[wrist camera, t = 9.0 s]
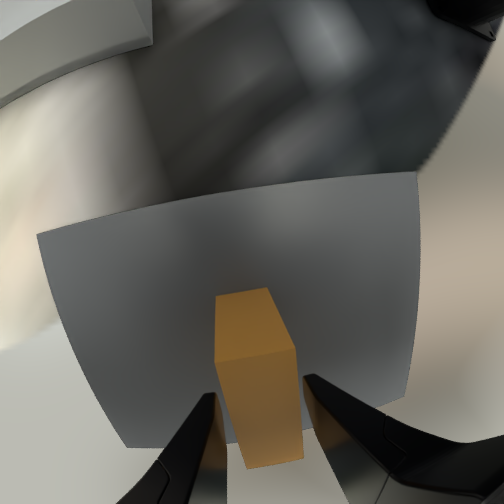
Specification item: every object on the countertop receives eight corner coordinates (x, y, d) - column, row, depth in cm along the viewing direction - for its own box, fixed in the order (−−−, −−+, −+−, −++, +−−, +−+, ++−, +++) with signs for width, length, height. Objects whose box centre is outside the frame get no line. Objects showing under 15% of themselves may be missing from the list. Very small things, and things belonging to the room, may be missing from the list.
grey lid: (403, 171, 12) (492, 172, 6) (396, 387, 15) (442, 443, 9) (47, 230, 10) (-34, 259, 5) (130, 436, 13) (112, 506, 8)
